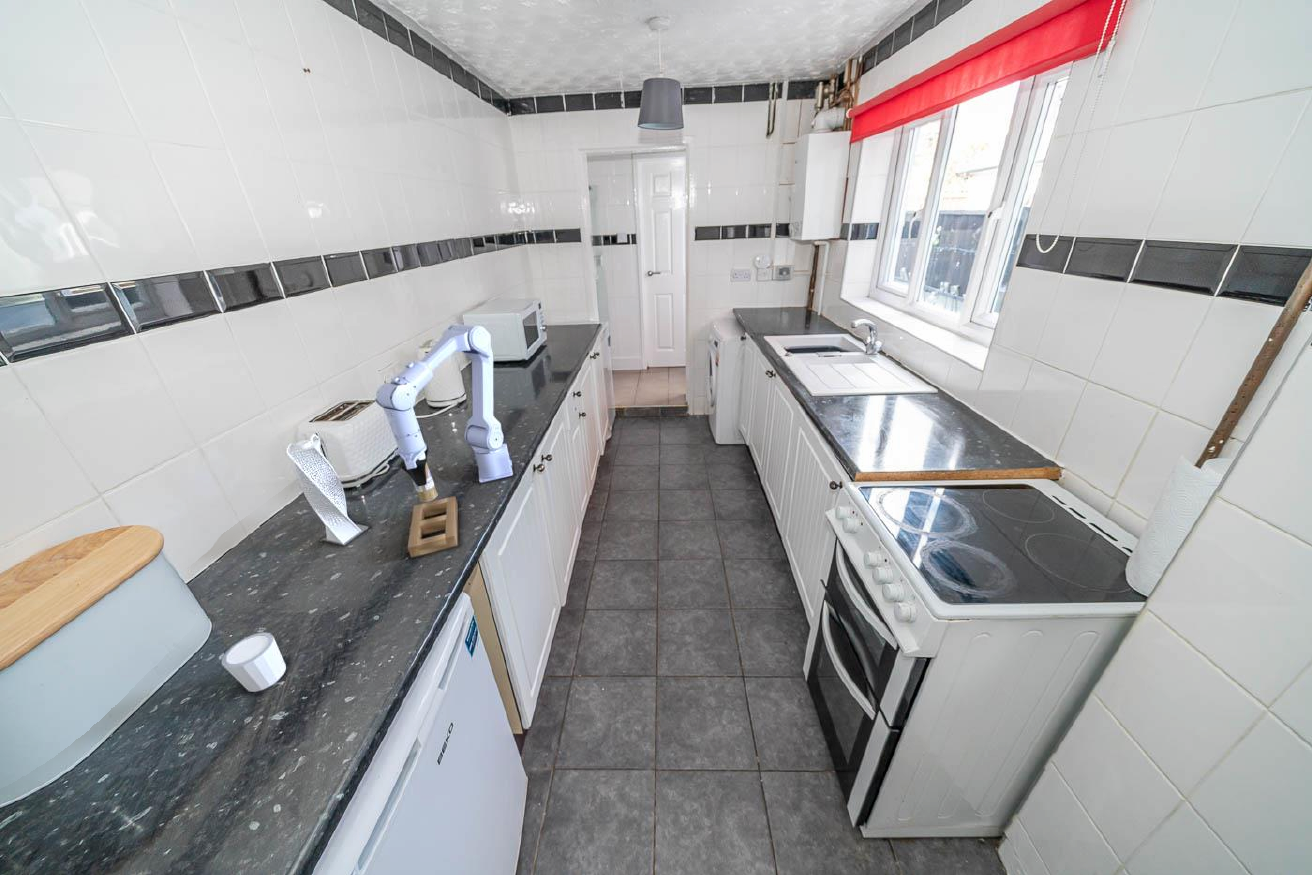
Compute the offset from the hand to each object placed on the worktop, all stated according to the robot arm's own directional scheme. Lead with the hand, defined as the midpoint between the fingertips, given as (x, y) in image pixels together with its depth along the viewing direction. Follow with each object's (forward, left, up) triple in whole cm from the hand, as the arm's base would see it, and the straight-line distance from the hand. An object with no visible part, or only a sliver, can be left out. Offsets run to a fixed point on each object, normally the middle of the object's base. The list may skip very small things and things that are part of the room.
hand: (422, 480), depth 114 cm
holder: (-1, +8, -10) cm, 13 cm away
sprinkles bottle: (0, 0, -6) cm, 6 cm away
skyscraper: (+20, +1, -11) cm, 23 cm away
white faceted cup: (+25, +40, -11) cm, 48 cm away
